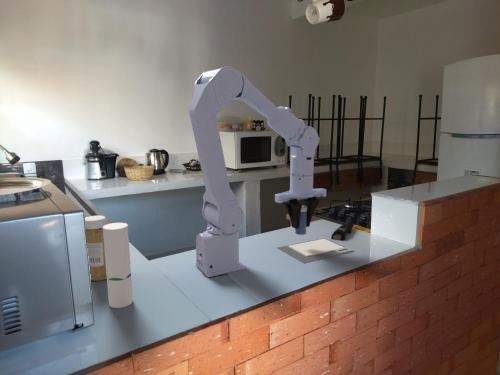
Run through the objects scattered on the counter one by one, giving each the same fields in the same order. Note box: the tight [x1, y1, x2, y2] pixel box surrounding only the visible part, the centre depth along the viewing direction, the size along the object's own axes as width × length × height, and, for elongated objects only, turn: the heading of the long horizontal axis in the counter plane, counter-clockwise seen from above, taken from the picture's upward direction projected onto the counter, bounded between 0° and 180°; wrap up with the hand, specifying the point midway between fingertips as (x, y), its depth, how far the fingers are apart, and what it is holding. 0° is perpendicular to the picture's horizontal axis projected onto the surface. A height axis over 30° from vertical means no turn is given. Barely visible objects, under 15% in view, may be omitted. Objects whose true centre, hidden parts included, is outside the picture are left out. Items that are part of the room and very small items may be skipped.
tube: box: [103, 222, 134, 309], centre depth 71 cm, size 4×4×15 cm
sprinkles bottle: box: [84, 214, 107, 282], centre depth 82 cm, size 5×5×14 cm
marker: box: [294, 205, 307, 236], centre depth 98 cm, size 3×3×7 cm
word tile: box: [334, 246, 353, 254], centre depth 98 cm, size 4×2×1 cm, turn 118°
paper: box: [287, 238, 345, 257], centre depth 100 cm, size 12×8×1 cm, turn 119°
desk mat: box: [276, 238, 356, 264], centre depth 99 cm, size 16×12×1 cm
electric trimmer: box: [330, 218, 354, 242], centre depth 113 cm, size 4×16×3 cm, turn 152°
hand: (300, 226), depth 99 cm, fingers closed on marker, 3 cm apart
